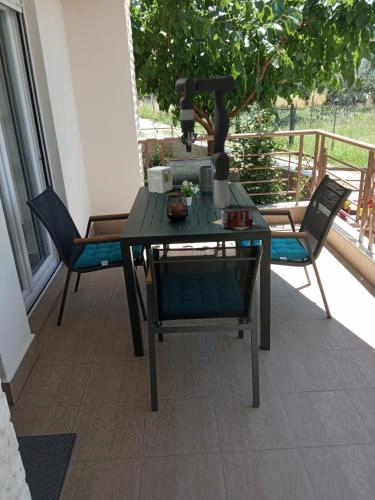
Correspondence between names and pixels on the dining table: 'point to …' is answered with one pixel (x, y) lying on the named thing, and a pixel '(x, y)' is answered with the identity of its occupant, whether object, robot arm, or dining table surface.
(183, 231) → the dining table surface
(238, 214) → the supplement box
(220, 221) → the cork placemat
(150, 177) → the supplement box
